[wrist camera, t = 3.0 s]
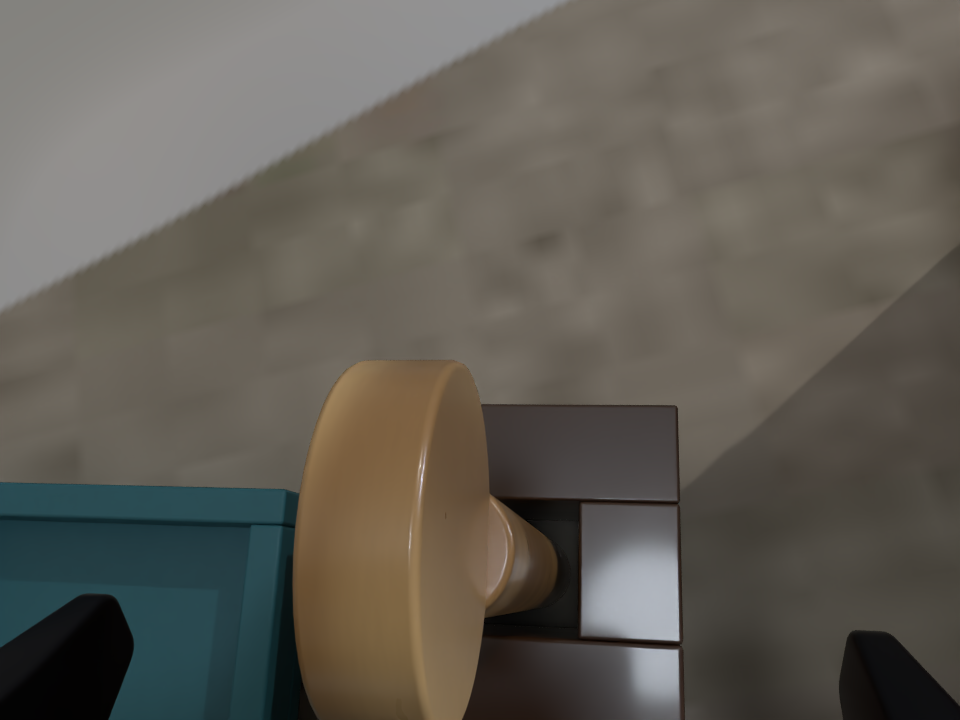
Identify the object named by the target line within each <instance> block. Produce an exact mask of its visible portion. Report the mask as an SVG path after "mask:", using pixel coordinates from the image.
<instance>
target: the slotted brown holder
mask: <svg viewBox="0 0 960 720" xmlns="http://www.w3.org/2000/svg"><path fill="white" fill-rule="evenodd" d="M481 408H482V412H483V419H484V425H485V433H486V442H487V453H488V468H489V491H490V494H491V495H492V496H494V497H495V498H496V499H498V500H499V501H500V502H501V503H503V504H504V505H505V506H507V507H508V508H509V509H511V510H512V511H513V512H515V513H516V514H517V515H519V516H520V517H521V518H523V519H533V520H568V521H579V547H578V629H575V628H556V627H536V626H516V625H497V624H484V625H483V632H482V640H481V647H480V653H479V659H478V665H477V670H476V675H475V680H474V684H473V688H472V692H471V695H470V699H469V702H468V705H467V708H466V711H465V713H464V716H463V718H462V720H685V705H684V662H683V649H682V646H680V644H682V642H683V614H682V571H681V527H680V506H679V505H678V503H679V501H680V482H679V439H678V408H677V406H675V405H517V404H481Z"/></svg>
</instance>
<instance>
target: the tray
mask: <svg viewBox="0 0 960 720" xmlns="http://www.w3.org/2000/svg"><path fill="white" fill-rule="evenodd" d="M298 501H299V494H298V493H295V492H292V491H289V490H285V489H256V488H214V487H172V486H130V485H87V484H45V483H3V482H0V647H2V646H3V645H5V644H6V643H8V642H9V641H11V640H12V639H14V638H15V637H17V636H18V635H20V634H21V633H23V632H24V631H26V630H27V629H29V628H30V627H32V626H33V625H35V624H36V623H38V622H39V621H41V620H42V619H44V618H45V617H47V616H48V615H50V614H51V613H53V612H54V611H56V610H58V609H59V608H61V607H62V606H64V605H65V604H67V603H68V602H70V601H71V600H73V599H74V598H76V597H77V596H79V595H82V594H86V593H93V594H109V595H113V596H114V597H115V598H116V599H117V600H118V602H119V604H120V606H121V609H122V611H123V614H124V616H125V618H126V621H127V623H128V626H129V628H130V630H131V633H132V635H133V639H134V651H133V656H132V659H131V662H130V665H129V667H128V670H127V672H126V675H125V678H124V680H123V683H122V686H121V688H120V691H119V694H118V696H117V699H116V701H115V704H114V707H113V709H112V712H111V715H110V717H109V720H297V719H298V708H299V698H300V687H301V671H300V667H299V661H298V654H297V648H296V641H295V629H294V617H293V551H294V538H295V525H296V517H297V509H298Z"/></svg>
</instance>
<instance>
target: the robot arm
mask: <svg viewBox="0 0 960 720" xmlns="http://www.w3.org/2000/svg"><path fill="white" fill-rule="evenodd" d="M133 651H134V639H133V635H132V633H131V630H130V628H129V626H128V623H127V621H126V618H125V616H124V614H123V611H122V609H121V606H120V604H119V602H118V600H117V599H116V598H115V597H114V596H113V595H109V594H93V593H86V594H82V595H79V596H77V597H76V598H74V599H73V600H71V601H70V602H68V603H67V604H65V605H64V606H62V607H61V608H59V609H58V610H56V611H54V612H53V613H51V614H50V615H48V616H47V617H45V618H44V619H42V620H41V621H39V622H38V623H36V624H35V625H33V626H32V627H30V628H29V629H27V630H26V631H24V632H23V633H21V634H20V635H18V636H17V637H15V638H14V639H12V640H11V641H9V642H8V643H6V644H5V645H3V646H2V647H0V720H109V717H110V715H111V712H112V709H113V707H114V704H115V701H116V699H117V696H118V694H119V691H120V688H121V686H122V683H123V680H124V678H125V675H126V672H127V670H128V667H129V665H130V662H131V659H132V656H133ZM839 694H840V703H841V709H842V715H843V720H960V706H959V705H958V704H957V703H956V702H955V700H954V699H953V698H952V697H951V696H950V695H949V694H948V693H947V692H946V691H945V690H944V689H943V688H942V687H941V686H940V685H939V684H938V683H937V681H936V680H935V679H934V678H933V677H932V676H931V675H930V674H929V673H928V672H927V671H926V670H925V669H924V668H923V667H922V666H921V665H920V664H919V662H918V661H917V660H916V659H915V658H914V657H913V656H912V655H911V654H910V653H909V652H908V651H907V650H906V649H905V648H904V647H903V646H902V645H901V643H900V642H899V641H898V640H897V639H896V638H895V637H894V636H892V635H891V634H889V633H887V632H882V631H862V630H855V631H852V632H850V634H849V636H848V637H847V641H846V647H845V652H844V657H843V663H842V668H841V673H840V680H839Z"/></svg>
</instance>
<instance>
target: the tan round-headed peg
mask: <svg viewBox="0 0 960 720" xmlns="http://www.w3.org/2000/svg"><path fill="white" fill-rule="evenodd" d="M569 581H570V565H569V562H568V559H567V557H566V555H565V553H564V552H563V550H562V549H561V548H560V547H559V546H558V545H557V544H556V543H554V542H553V541H552V540H550V539H549V538H548V537H546V536H545V535H544V534H542V533H541V532H540V531H538V530H537V529H536V528H534V527H533V526H532V525H530V524H529V523H528V522H527V521H525V520H524V519H523V518H521V517H520V516H519V515H517V514H516V513H515V512H513V511H512V510H511V509H509V508H508V507H507V506H505V505H504V504H503V503H501V502H500V501H499V500H498V499H496V498H495V497H494V496H492V495H491V494H490V491H489V468H488V453H487V442H486V433H485V425H484V419H483V412H482V408H481V403H480V398H479V395H478V391H477V388H476V385H475V383H474V380H473V377H472V375H471V373H470V371H469V369H468V368H467V367H466V366H465V365H464V364H462V363H460V362H457V361H455V360H367V361H362V362H359V363H356V364H354V365H353V366H351V367H349V368H348V369H346V370H345V371H344V372H343V373H342V375H341V376H340V377H339V378H338V379H337V381H336V382H335V384H334V385H333V387H332V388H331V390H330V392H329V394H328V396H327V398H326V400H325V402H324V404H323V407H322V409H321V412H320V415H319V417H318V420H317V422H316V426H315V429H314V432H313V435H312V439H311V442H310V446H309V450H308V454H307V458H306V463H305V467H304V472H303V477H302V483H301V489H300V494H299V501H298V509H297V517H296V525H295V538H294V551H293V617H294V629H295V641H296V648H297V654H298V661H299V667H300V671H301V676H302V680H303V684H304V688H305V691H306V694H307V697H308V700H309V703H310V705H311V707H312V709H313V711H314V713H315V715H316V717H317V718H318V719H319V720H462V718H463V716H464V713H465V711H466V708H467V705H468V702H469V699H470V695H471V692H472V688H473V684H474V680H475V675H476V670H477V665H478V659H479V653H480V647H481V640H482V632H483V625H484V618H487V617H493V616H498V615H504V614H509V613H515V612H521V611H526V610H532V609H537V608H543V607H547V606H549V605H551V604H553V603H555V602H556V601H558V600H559V599H560V598H561V597H562V596H563V594H564V593H565V591H566V589H567V587H568V584H569Z"/></svg>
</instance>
